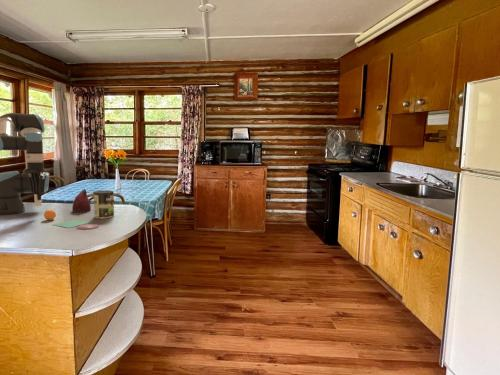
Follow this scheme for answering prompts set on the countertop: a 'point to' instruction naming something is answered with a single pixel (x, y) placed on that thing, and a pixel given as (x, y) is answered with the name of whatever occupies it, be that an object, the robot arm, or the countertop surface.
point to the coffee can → (103, 204)
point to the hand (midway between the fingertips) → (38, 205)
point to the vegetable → (81, 203)
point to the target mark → (71, 223)
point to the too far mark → (87, 226)
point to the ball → (49, 214)
